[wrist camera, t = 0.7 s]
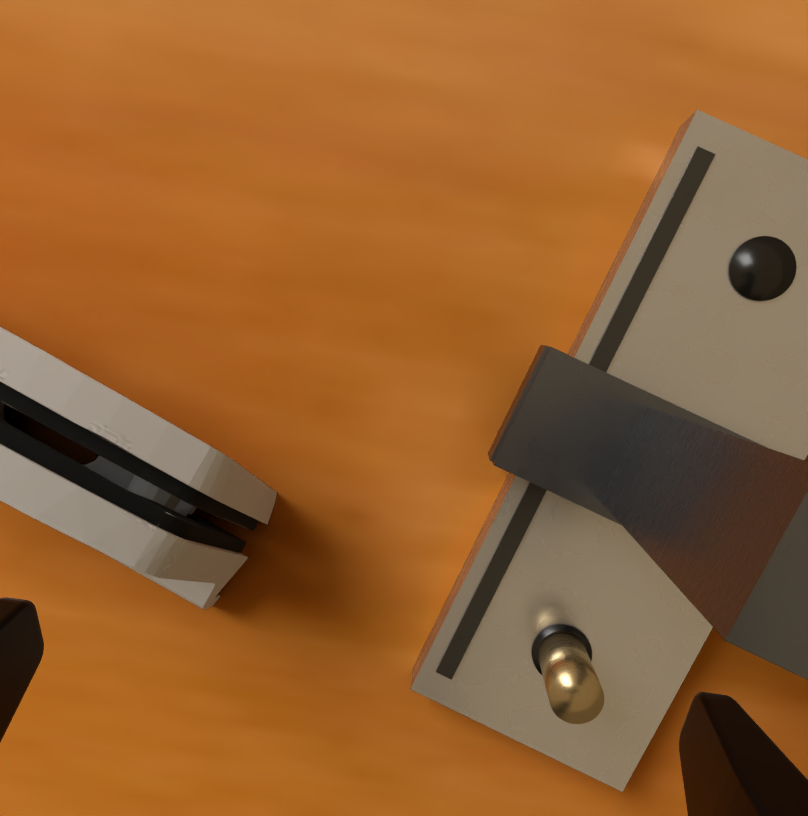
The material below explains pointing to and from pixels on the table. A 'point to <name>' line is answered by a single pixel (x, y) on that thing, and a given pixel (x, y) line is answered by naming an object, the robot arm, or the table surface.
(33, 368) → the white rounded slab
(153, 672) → the table surface
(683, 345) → the bolt plate
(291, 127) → the table surface
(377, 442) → the table surface
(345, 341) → the table surface
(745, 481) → the leg
